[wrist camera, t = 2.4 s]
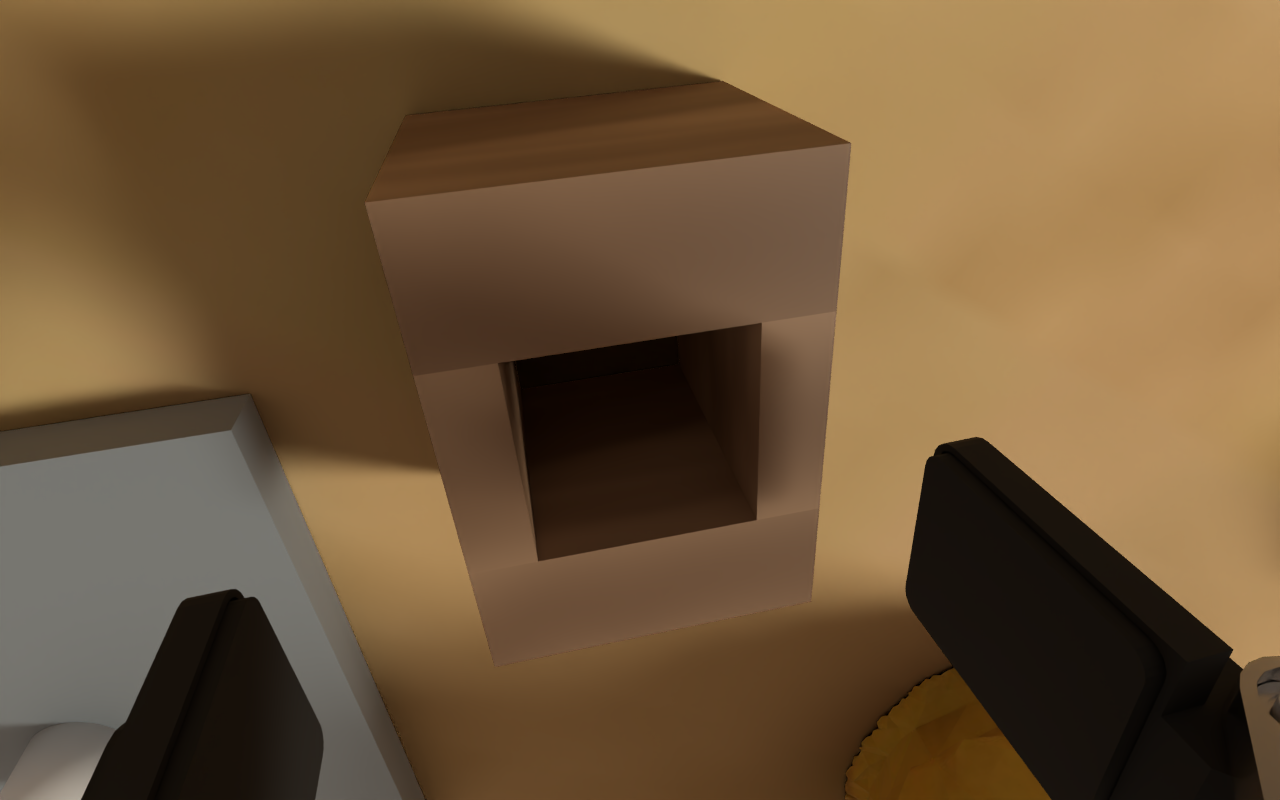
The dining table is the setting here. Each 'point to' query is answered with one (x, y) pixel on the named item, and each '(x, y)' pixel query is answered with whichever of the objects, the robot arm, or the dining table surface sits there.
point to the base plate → (162, 589)
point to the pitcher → (940, 751)
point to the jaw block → (612, 315)
